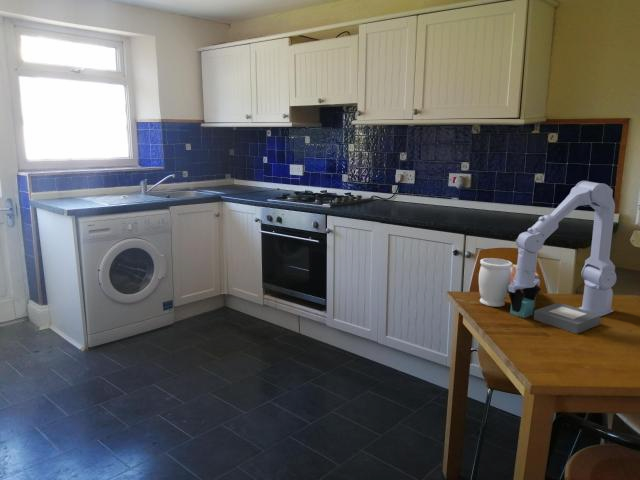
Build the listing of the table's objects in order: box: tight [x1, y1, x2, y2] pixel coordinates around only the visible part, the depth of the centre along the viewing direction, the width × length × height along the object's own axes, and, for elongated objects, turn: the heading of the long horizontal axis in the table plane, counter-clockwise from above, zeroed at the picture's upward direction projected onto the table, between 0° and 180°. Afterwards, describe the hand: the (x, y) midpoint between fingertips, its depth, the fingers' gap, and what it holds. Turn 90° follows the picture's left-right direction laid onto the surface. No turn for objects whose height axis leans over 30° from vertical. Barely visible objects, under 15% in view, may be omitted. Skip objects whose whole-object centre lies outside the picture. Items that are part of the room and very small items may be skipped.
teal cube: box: [509, 298, 534, 319], centre depth 165 cm, size 5×5×5 cm
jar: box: [478, 257, 513, 308], centre depth 174 cm, size 11×10×15 cm
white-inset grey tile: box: [533, 302, 602, 335], centre depth 159 cm, size 14×14×3 cm
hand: (521, 309), depth 165 cm, fingers open, 6 cm apart
